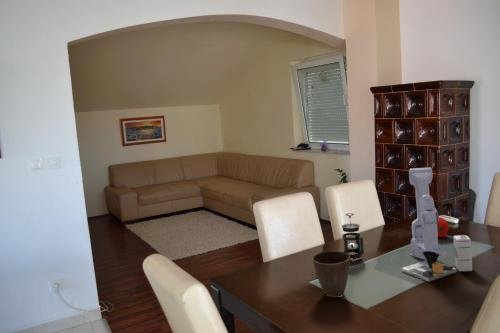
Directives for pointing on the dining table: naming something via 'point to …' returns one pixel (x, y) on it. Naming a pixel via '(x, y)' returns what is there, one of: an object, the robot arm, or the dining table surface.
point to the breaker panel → (424, 263)
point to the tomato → (442, 227)
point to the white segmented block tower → (463, 253)
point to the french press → (352, 246)
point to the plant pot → (332, 271)
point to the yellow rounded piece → (437, 267)
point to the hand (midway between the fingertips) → (432, 267)
